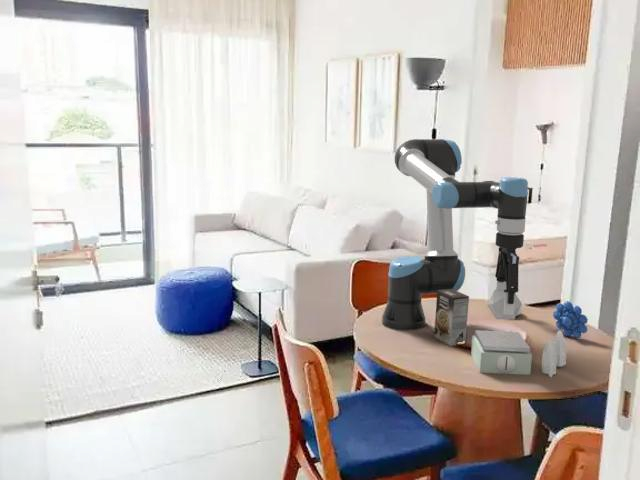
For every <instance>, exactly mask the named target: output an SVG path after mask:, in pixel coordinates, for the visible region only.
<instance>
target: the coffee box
mask: <svg viewBox="0 0 640 480" xmlns="http://www.w3.org/2000/svg"><path fill="white" fill-rule="evenodd" d="M469 299H470V296H469V295H466V293H465V294H464V293H462V292H460V291H459V290H458V291H456V290H454V289H449V290H448V289H446V290H437V293H436V307H435V319H434V320H435V322H434V334H433V335H434V338H435V339H437V340H439V341H441V342H442V343H444V344H446V345H447V346H449V347H452V346H457V345H456V344H457V343H458V342H463V341H465V342H466V341H467V340H466V339H467V337H466V336H467V326H468V313H469V303H470V302H469V301H470V300H469Z"/></svg>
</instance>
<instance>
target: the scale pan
mask: <svg viewBox="0 0 640 480" xmlns="http://www.w3.org/2000/svg"><path fill="white" fill-rule="evenodd" d="M474 335H475V336H476V338H477V340H478V342H479V343H480V345H481V347H482V349H483V350H496V351H518V352H530V353H531V347H530V345H528V343H527V342H526V340H525V339H524V337H523V336H522V334H521V333H520V332H519V331H503V330H502V331H501V330H500V331H499V330H481V329H480V330H478V329H477V330H474Z"/></svg>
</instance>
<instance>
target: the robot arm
mask: <svg viewBox="0 0 640 480" xmlns="http://www.w3.org/2000/svg"><path fill="white" fill-rule="evenodd" d="M462 159H463V158H462V153H461V149H460V147H459V145H458V143H456V142H455V141H454V140H451V139H443V138H438V139H437V138H433V139H432V138H431V139H424V138H423V139H420V138H416V139H409V140H407V141H405V142H403V143H402V144H401V145H400V146H398V147H397V149H396V151H395V154H394V164H395V166H396V169H397V170H398V171H399V172H401V174H402V175H404V176H406V177H411V178H412V179H414V180H415V181H416V182H417V183H418V184H420V185H421V186H422V187H424V189H426V206H427V207H426V212H427V214H426V215H427V238H428V240H427V243H428V245H427V246H428V247H427V248H428V251H427V252H426V253H425V254H424V255H423V257H424V259H423V257H420V256H417V255H413V256H410V255H408V256H407V255H406V256H401V257H397V258H395V259H393V260H392V261H391V262H390V263H389V268H388V269H389V270H388V273H387V274H388V288H387V303H386V304H385V307H384V311H383V313H382V315H381V323H382V324H383V326H385V327H387V328H389V329H394V330H400V331H416V330H417V331H418V330H420V329H423V328H424V327H425V326H426V316H425V312H424V309H423V305H422V304H423V303H422V296H423V295H431V294H437V290H446V289H448V290H449V289H454V290H456V291H458V292H459V290H460V289H461V287H462V286H463V284H464V283H465V279H466V267H465V266H464V262H463V261H462V260H461V259H459V254H458V253H457V252H456V251H455V250H454V235H453V234H454V232H453V231H454V230H453V209H467V208H468V209H469V208H471V209H473V208H474V209H475V208H477V209H478V208H480V209H481V208H482V209H483V208H485V209H487V208H492V209H497V220H495V221H494V224H495V225H496V231H497V232H496V234H495V246H496V247H498V257H497V263H496V269H495V278H496V279H495V280H496V289H495V290H504V292H505V299H504V312H503V314H505V315H514V307H515V294H516V295H517V293H519V265H520V264H519V263H520V256H519V255H518V254H517V251H516V250H517V249H521V248H523V247H524V241H525V240H524V238H525V235H524V233H525V232H526V231H525V230H526V215H527V206H528V195H529V191H528V189H529V188H528V186H529V185H528V184H529V182H528V180H527V179H526V178H523V177H516V176H515V177H513V176H512V177H510V176H509V177H508V176H507V177H501V178H500V181H499V182H498V181H497V182H496V181H494V180H482V181H458V180H456V173H458V172H459V171H460V169H461V168H462V167H461V166H462V163H463V162H462ZM504 281H505V282H504ZM511 287H512V288H511Z"/></svg>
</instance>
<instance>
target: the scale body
mask: <svg viewBox="0 0 640 480" xmlns="http://www.w3.org/2000/svg"><path fill="white" fill-rule="evenodd" d="M470 352H471V353H470V355H471V357H472V358H473V361H474V363H475V365H476V367H477V369H478V371H479V373H482V374H483V373H485V374H504V375H505V374H506V375H527V376H530V375H531V369H532V358H533V354H532V353H531V351H530V352H518V351H496V350H483V349H482V347H481V345H480V343H479V342H478V340H477V338H476V336H475V334H473V335H472V336H471V350H470Z"/></svg>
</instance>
